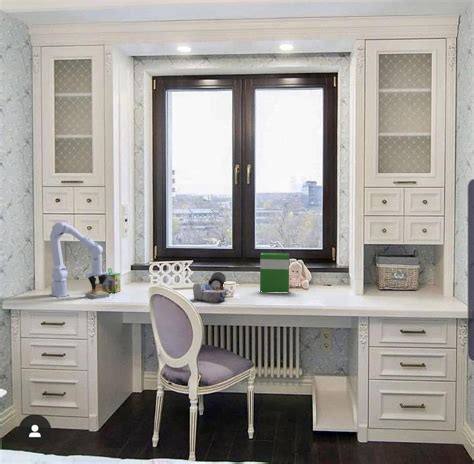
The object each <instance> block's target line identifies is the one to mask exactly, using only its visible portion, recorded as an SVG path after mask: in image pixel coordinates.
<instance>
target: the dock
mask: <svg viewBox="0 0 474 464" xmlns="http://www.w3.org/2000/svg"><path fill="white" fill-rule="evenodd" d="M109 297H110V293H105V292H104V294H98V295H96V294H92V293H90V292H86V293H85V298H89V299H93V300H97V299H98V300H99V299H102V298H109Z"/></svg>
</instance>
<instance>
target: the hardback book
mask: <svg viewBox="0 0 474 464" xmlns="http://www.w3.org/2000/svg"><path fill="white" fill-rule="evenodd" d="M259 259H260V261H259V262H260V264H259V265H260V266H259V267H260V268H259V270H260V273H259V274H260V275H259V277H260V278H259V279H260V280H259V293H260V292H261V291H262V292H288V293H290V253H277V252H276V253H275V252H273V253H272V252H261V253H260V257H259Z"/></svg>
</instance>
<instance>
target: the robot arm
mask: <svg viewBox="0 0 474 464" xmlns="http://www.w3.org/2000/svg"><path fill="white" fill-rule="evenodd" d="M51 228H52V229H51V232H50V234H49V240H50V245H51V246H50V247H51V251H52V252H51V253H52V259H53V260H52V261H53V265H54V266H53V268H52V274H51V277H52V280H53V281H52V282H51V289H50V291H51V292H50V294H49V296H53V297H57V298H59V297H60V298H61V297H67V296H70V294H68V293H67V292H68V289H67V287H68V286H67V285H68V282H67V278H68V276H69V272H68V270H67V268H66V265H65V264H64V259H63V252H62V246H61V238H62V236H63V235H64V234H69V235H71V236H73V237H74V238H75V239H76V240H78V241H79V242H80V243H81V246H83V247H84V248H85V249H87V250H88V251H89V253H90V254H91V271H92V272H90V273H85V274H84V275H85V278H88V280H89V283H90V284H91V290H92V289H95V284H96V281H97V278H98V283H99V284H102V287H103V283H104V281H105V279H106V276H105V275H108V273H109V271H103V256H102V255H103V254H102V253H104V248H103V246H102V245H101V244H98V243H97V242H95V241H94V240H93V239H92V238H91V237H88V236H84V235H83V234H82V233H80V232H79V230H77V229H76V228H75V227H74V226H73V225H72V224H69V222H67V221H62V222H60V221H59V222H55V223H54V224H53V226H52V227H51Z"/></svg>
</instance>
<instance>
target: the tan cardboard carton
mask: <svg viewBox="0 0 474 464" xmlns="http://www.w3.org/2000/svg"><path fill="white" fill-rule="evenodd" d="M89 293H92V294H96V295H98V294H104V291H102V284H99V282H98V283H95V289H92V288H91V290H90V291H89Z"/></svg>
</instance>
